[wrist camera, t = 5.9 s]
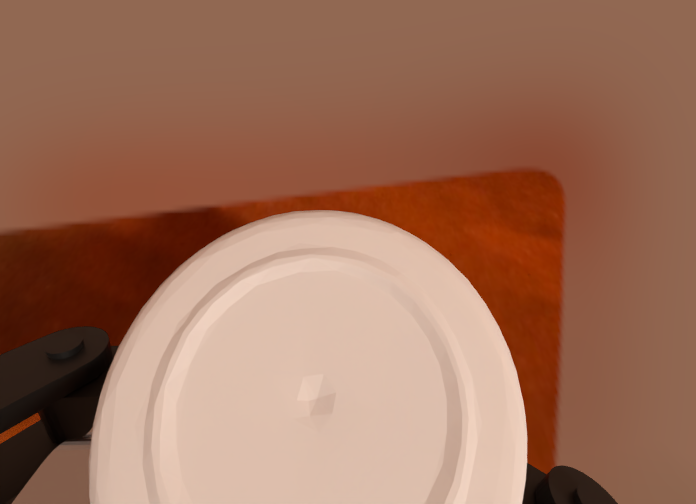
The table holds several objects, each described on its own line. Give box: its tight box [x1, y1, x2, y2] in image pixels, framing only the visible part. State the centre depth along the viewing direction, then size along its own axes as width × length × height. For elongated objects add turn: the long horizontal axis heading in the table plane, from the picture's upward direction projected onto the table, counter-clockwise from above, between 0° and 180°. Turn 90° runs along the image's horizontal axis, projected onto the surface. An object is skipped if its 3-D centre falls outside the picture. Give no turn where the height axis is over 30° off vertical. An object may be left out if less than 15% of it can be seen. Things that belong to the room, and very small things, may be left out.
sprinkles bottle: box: [89, 210, 527, 504], centre depth 9 cm, size 5×5×13 cm
